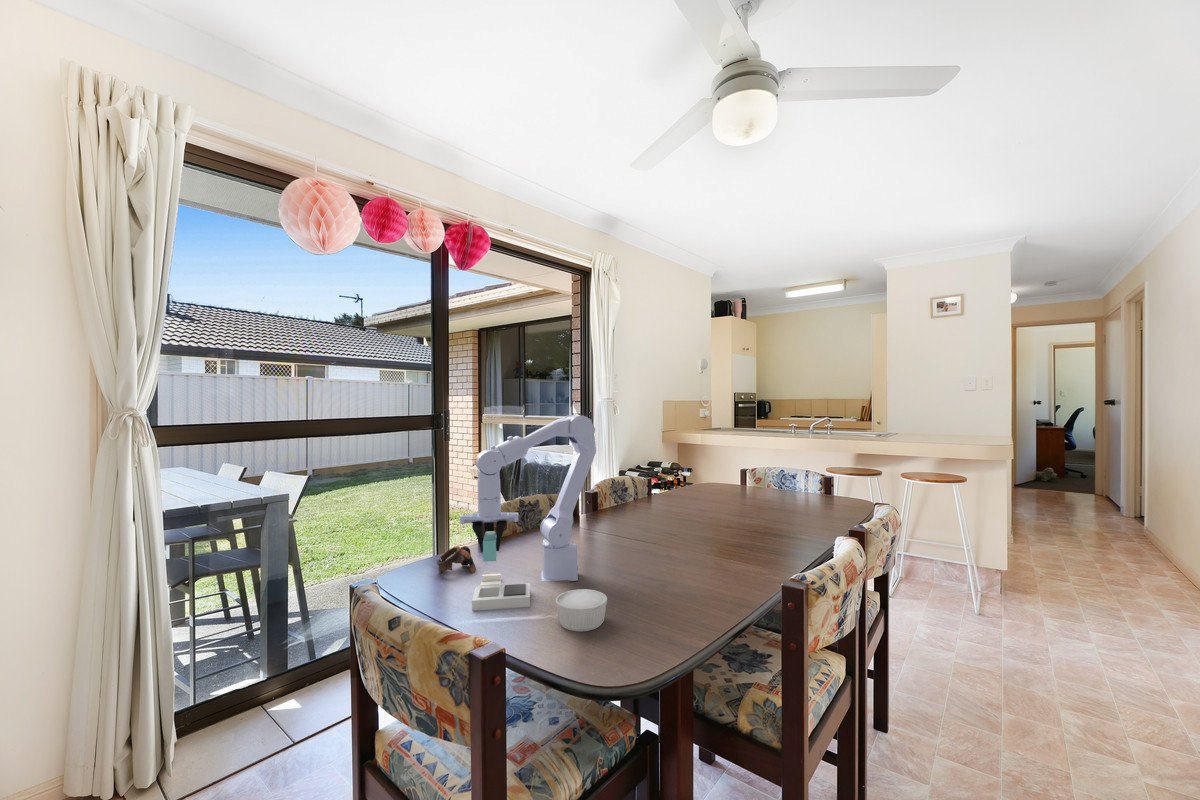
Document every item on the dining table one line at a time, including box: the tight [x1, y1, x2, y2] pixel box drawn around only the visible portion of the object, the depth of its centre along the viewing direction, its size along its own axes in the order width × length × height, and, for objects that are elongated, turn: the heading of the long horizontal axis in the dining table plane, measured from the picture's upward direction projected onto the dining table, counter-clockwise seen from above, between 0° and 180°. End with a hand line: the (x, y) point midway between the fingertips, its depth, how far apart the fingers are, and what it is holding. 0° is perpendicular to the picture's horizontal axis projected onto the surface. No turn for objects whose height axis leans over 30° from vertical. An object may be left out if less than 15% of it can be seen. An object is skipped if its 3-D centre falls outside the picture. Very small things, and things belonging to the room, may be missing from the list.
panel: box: [471, 582, 531, 612], centre depth 120 cm, size 13×9×3 cm
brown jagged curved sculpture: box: [436, 545, 477, 574], centre depth 142 cm, size 12×10×8 cm
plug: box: [482, 530, 498, 563], centre depth 130 cm, size 3×4×6 cm
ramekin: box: [554, 588, 608, 633], centre depth 109 cm, size 11×11×5 cm
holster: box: [479, 573, 502, 586], centre depth 130 cm, size 5×8×2 cm, turn 8°
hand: (490, 550), depth 130 cm, fingers closed on plug, 3 cm apart
